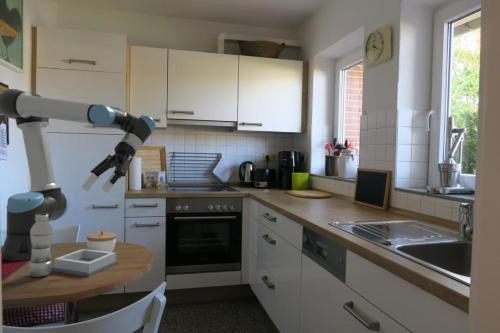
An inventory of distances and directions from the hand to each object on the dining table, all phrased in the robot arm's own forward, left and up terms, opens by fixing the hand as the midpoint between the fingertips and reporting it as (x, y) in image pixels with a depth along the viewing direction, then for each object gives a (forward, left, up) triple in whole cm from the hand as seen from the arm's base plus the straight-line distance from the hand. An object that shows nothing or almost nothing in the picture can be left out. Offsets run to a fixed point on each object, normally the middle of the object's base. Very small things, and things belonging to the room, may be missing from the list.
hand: (94, 189), depth 127 cm
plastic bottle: (-6, -17, -27) cm, 32 cm away
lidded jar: (-4, +10, -27) cm, 29 cm away
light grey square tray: (+1, -4, -27) cm, 27 cm away
